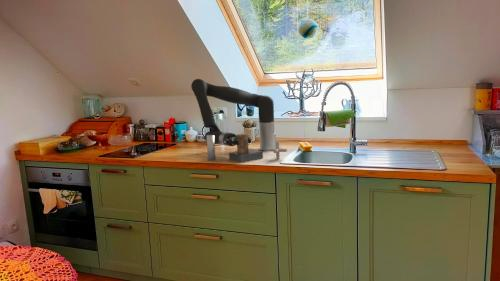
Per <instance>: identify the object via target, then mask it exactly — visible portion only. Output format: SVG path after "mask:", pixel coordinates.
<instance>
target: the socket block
mask: <svg viewBox="0 0 500 281" xmlns="http://www.w3.org/2000/svg"><path fill="white" fill-rule="evenodd" d="M248 150H249V153H244V154H240V153H237V150H236V151H231V152H229V153H228V156H229V159H228V160H229V161H233V160H234V162H237V161H238V162H237V163H241V162H242V163H245V162H246V161H247V162H251V160H252V161H256V160H261V159H264V152H263V150H260V149H259V150H258V149H254V148H248Z"/></svg>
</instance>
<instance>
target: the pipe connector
mask: <svg viewBox="0 0 500 281" xmlns="http://www.w3.org/2000/svg"><path fill="white" fill-rule="evenodd" d="M268 152H273V154H275V158H276V160H281V159H280V153H287V152H288V148H283V147H282V146H280V140H276V148H269V151H268Z"/></svg>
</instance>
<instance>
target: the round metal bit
mask: <svg viewBox="0 0 500 281" xmlns="http://www.w3.org/2000/svg"><path fill="white" fill-rule="evenodd" d="M206 149H207V152H206V153H207V161H209V162H215V161H217V158H216V156H217V154H216V143H215V135H207V141H206Z"/></svg>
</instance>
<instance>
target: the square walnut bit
mask: <svg viewBox="0 0 500 281" xmlns="http://www.w3.org/2000/svg"><path fill="white" fill-rule="evenodd" d="M236 135H237V141H239V145H236V147H237V148H236V149H237V150H236V151H237V153H240V154H244V153H249V150H248V149H249V143H248V137H249V135H248V134H245V133H240V134H239V133H238V134H236Z"/></svg>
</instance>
